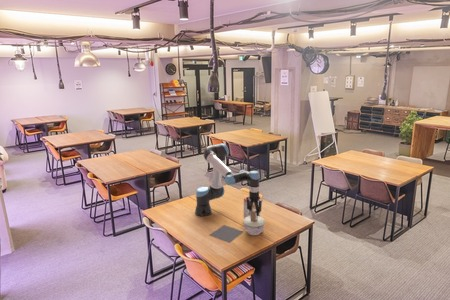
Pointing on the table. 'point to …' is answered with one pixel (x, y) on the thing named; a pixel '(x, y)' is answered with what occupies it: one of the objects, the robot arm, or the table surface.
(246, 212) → the cracker box
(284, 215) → the table surface
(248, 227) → the paper bowls
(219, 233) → the mat
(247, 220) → the lid
